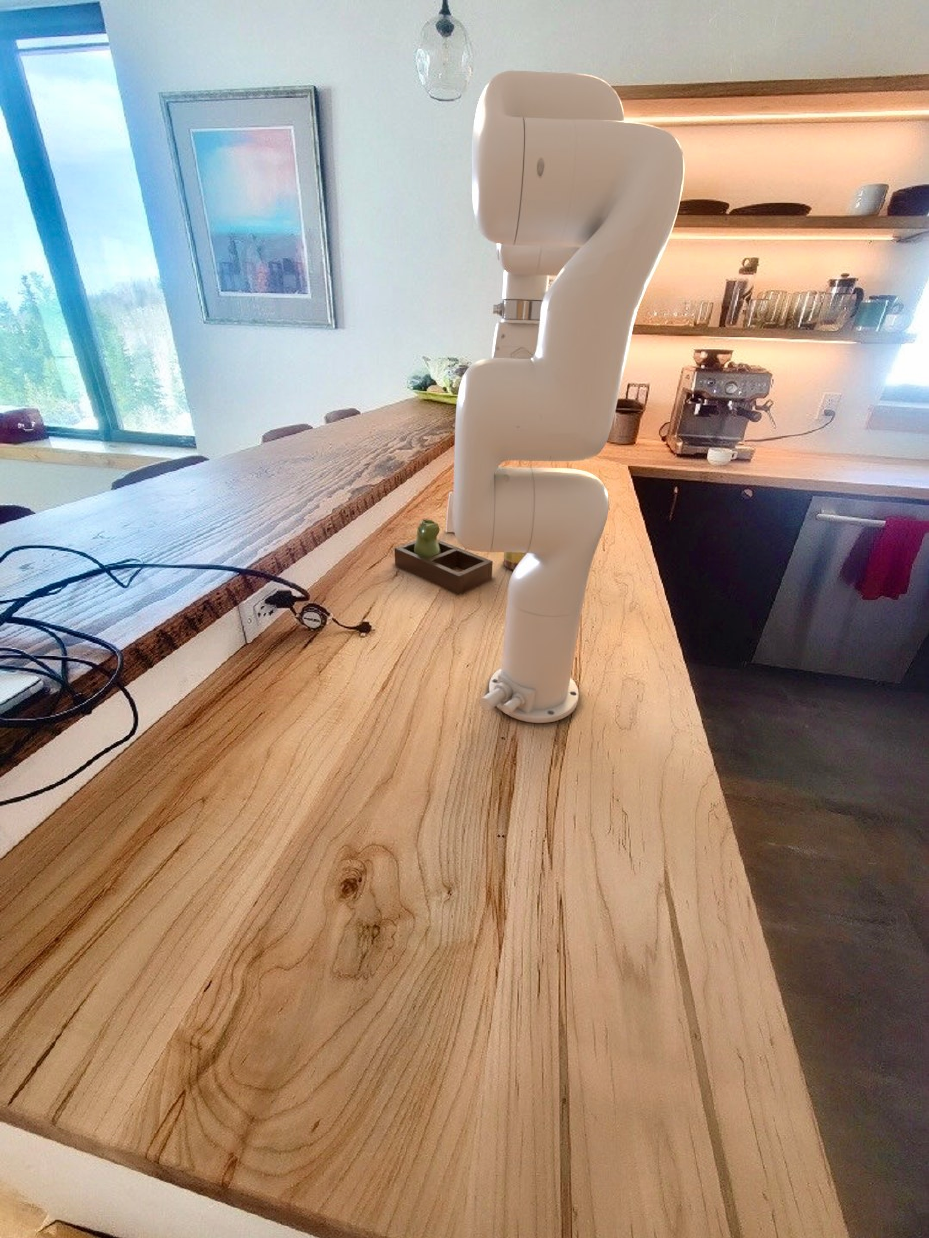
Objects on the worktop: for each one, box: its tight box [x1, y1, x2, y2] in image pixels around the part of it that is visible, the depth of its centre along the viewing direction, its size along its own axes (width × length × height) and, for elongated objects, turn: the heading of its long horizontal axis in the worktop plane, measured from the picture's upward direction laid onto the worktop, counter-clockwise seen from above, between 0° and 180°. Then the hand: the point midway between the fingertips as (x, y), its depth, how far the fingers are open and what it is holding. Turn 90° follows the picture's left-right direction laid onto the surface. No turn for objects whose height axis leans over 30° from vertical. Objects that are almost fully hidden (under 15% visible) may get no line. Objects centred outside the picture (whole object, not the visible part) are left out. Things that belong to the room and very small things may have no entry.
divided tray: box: [393, 539, 494, 596], centre depth 104 cm, size 10×19×4 cm, turn 47°
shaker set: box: [445, 491, 455, 534], centre depth 122 cm, size 12×4×11 cm, turn 76°
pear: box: [414, 519, 441, 559], centre depth 105 cm, size 6×5×10 cm
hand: (515, 419), depth 95 cm, fingers open, 9 cm apart
